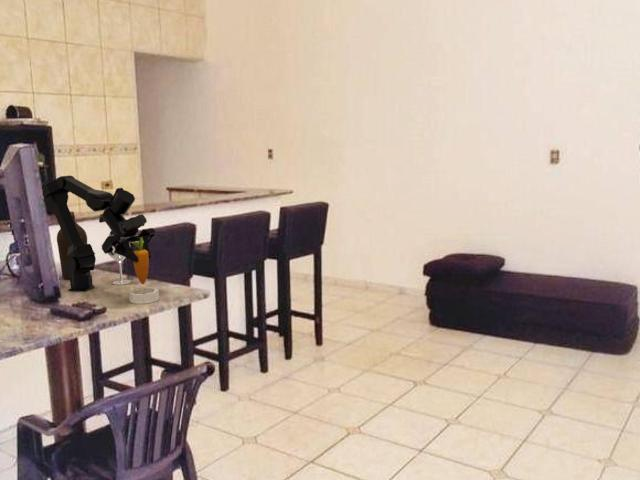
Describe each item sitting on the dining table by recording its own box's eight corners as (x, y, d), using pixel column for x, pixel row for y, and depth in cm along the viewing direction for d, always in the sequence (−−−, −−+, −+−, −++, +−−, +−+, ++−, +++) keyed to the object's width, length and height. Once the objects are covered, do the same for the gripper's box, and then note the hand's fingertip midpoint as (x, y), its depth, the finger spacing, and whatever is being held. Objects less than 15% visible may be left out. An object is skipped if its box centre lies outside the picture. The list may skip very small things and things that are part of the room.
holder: (125, 303, 196) (124, 294, 196) (137, 296, 205) (136, 287, 204) (151, 304, 195) (151, 295, 194) (163, 296, 203) (162, 287, 203)
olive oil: (69, 282, 227) (62, 214, 223) (55, 278, 234) (48, 212, 230) (96, 276, 235) (90, 211, 230) (82, 272, 242) (76, 209, 237)
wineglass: (126, 285, 219) (122, 235, 216) (105, 285, 221) (100, 235, 218) (137, 280, 227) (133, 231, 224) (117, 279, 229) (113, 231, 226)
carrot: (140, 287, 195) (137, 240, 193) (131, 284, 199) (128, 239, 196) (153, 283, 199) (150, 238, 197) (144, 281, 202) (141, 236, 200)
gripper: (104, 210, 189) (132, 249, 185) (150, 203, 204) (176, 239, 201) (89, 234, 194) (116, 272, 190) (135, 225, 210) (161, 260, 206)
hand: (143, 260), depth 197 cm, fingers closed on carrot, 5 cm apart
